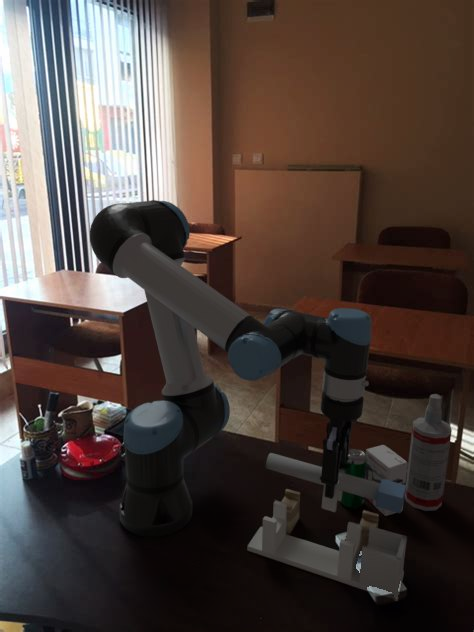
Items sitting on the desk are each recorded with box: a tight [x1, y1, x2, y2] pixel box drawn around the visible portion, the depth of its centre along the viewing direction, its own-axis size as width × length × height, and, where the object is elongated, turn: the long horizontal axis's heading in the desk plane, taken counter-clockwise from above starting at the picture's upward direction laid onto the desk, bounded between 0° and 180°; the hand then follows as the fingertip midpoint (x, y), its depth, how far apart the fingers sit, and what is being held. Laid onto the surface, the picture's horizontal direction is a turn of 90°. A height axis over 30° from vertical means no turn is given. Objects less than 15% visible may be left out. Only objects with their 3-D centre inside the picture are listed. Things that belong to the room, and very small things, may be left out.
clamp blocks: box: [280, 488, 380, 551], centre depth 106 cm, size 19×6×6 cm, turn 64°
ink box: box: [365, 444, 408, 517], centre depth 116 cm, size 8×5×12 cm, turn 23°
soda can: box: [340, 448, 367, 509], centre depth 116 cm, size 5×5×12 cm
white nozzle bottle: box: [404, 393, 453, 512], centre depth 115 cm, size 8×8×25 cm
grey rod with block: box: [265, 452, 406, 514], centre depth 103 cm, size 26×4×3 cm, turn 64°
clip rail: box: [246, 499, 408, 602], centre depth 99 cm, size 28×7×8 cm, turn 64°
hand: (331, 503), depth 105 cm, fingers closed on grey rod with block, 3 cm apart
